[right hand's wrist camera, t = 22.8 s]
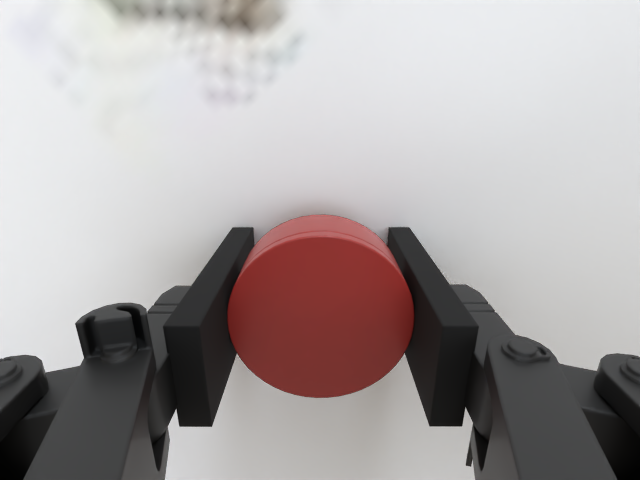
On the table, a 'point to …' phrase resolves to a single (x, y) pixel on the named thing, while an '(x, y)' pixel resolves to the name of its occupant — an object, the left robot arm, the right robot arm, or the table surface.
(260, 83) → the table surface
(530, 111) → the table surface
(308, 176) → the table surface
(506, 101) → the table surface
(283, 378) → the lid
